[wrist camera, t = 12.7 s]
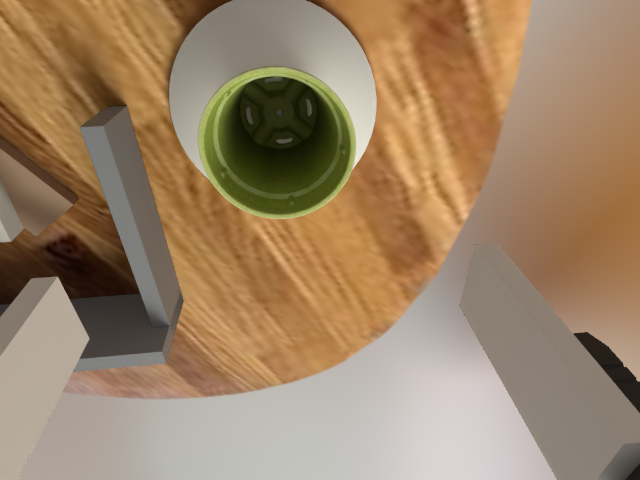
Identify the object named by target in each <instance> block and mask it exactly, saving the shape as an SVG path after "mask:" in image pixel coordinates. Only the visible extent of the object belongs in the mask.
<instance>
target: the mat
mask: <svg viewBox="0 0 640 480" xmlns="http://www.w3.org/2000/svg"><path fill="white" fill-rule="evenodd" d="M266 66H284V67H290V68H295V69H298V70H301V71H304V72H307V73H309V74H311V75H313V76H314V77H316V78H318V79H320V80H321V81H322V82H324V83H325V84H326V85H327V86H329V87H330V88H331V89H332V90H333V91H334V92H335V93H336V94H337V96H338V97H339V98H340V99H341V101H342V102H343V104H344V105H345V107H346V109H347V110H348V112H349V115H350V117H351V119H352V122H353V126H354V130H355V135H356V155H355V161H354V165H353V168H354V167H355V165H356V164H357V163H358V161H359V160H360V158H361V157H362V155H363V153H364V151H365V149H366V147H367V145H368V143H369V140H370V137H371V135H372V131H373V127H374V123H375V116H376V90H375V82H374V78H373V74H372V71H371V67H370V65H369V63H368V60H367V58H366V55H365V53H364V52H363V50H362V48H361V46H360V45H359V43H358V41H357V40H356V39H355V37H354V36H353V35H352V34H351V32H350V31H349V30H348V29H347V28H346V27H345V26H344V25H343V24H342V23H341V22H340V21H339V20H338V19H337V18H335V17H334V16H333V15H331V14H330V13H329V12H327V11H326V10H324V9H323V8H321V7H319V6H317V5H315V4H313V3H311V2H309V1H306V0H232V1H230V2H228V3H225V4H223V5H221V6H219V7H218V8H216V9H215V10H213V11H212V12H210V13H209V14H207V15H206V16H205V17H204V18H203V19H202V20H201V21H200V22H198V23H197V24H196V26H195V27H194V28H193V29H192V30H191V32H190V33H189V34H188V35H187V37H186V39H185V40H184V42H183V44H182V45H181V47H180V49H179V51H178V54H177V56H176V59H175V61H174V65H173V69H172V73H171V77H170V86H169V105H170V111H171V117H172V122H173V125H174V128H175V132H176V134H177V136H178V139H179V141H180V143H181V145H182V147H183V149H184V150H185V152H186V154H187V155H188V157H189V158H190V159H191V161H192V162H193V163H194V165H195V166H196V167H197V168H198V169H199V170H200V171H201V172H202V173H203V174H204V175H205V176H206V177H207V178H208V176H207V174H206V172H205V170H204V167H203V165H202V162H201V159H200V155H199V149H198V129H199V123H200V120H201V117H202V114H203V111H204V109H205V107H206V105H207V104H208V102H209V100H210V99H211V97H212V96H213V95H214V94H215V92H216V91H217V90H218V89H219V88H220V87H221V86H222V85H223V84H225V83H226V82H227V81H229V80H230V79H232V78H233V77H235V76H237V75H239V74H241V73H243V72H245V71H248V70H251V69H255V68H260V67H266ZM282 81H283V79H282V78H281V77H274V78H272V79H266V80H265V83H266V84H268V83H271V82H282ZM306 104H307V115H308V116H311V113H312V107H311V103H310V101H309V99H307V98H306ZM282 114H283V112H282V110H277V111H276V115H278V116H281V115H282ZM246 115H247V120H248V122H249V123H250V124H252V125H253V120H252V117H251V108H250V107H247V109H246ZM292 139H293V138H289V139H278V140H276V141H277V142H278V143H281V144H283V143H288V142H291V141H292ZM353 168H352V169H353ZM208 179H209V178H208Z"/></svg>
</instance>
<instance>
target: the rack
mask: <svg viewBox="0 0 640 480" xmlns="http://www.w3.org/2000/svg"><path fill="white" fill-rule="evenodd" d="M80 130H81V132H82V135H83V138H84V141H85V143H86V146H87V149H88V152H89V154H90V157H91V160H92V162H93V165H94V168H95V171H96V173H97V176H98V179H99V182H100V184H101V187H102V190H103V193H104V195H105V198H106V201H107V203H108V206H109V209H110V212H111V214H112V217H113V220H114V223H115V225H116V228H117V231H118V233H119V236H120V239H121V242H122V244H123V247H124V250H125V253H126V255H127V258H128V261H129V263H130V266H131V269H132V272H133V274H134V277H135V280H136V283H137V285H138V288H139V291H140V294H128V295H115V296H103V297H90V298H78V299H69V300H70V301H71V303H72V305H73V307H74V309H75V311H76V313H77V315H78V317H79V319H80V321H81V323H82V325H83V327H84V329H85V331H86V333H87V335H88V337H89V341H88V343H87V345H86V347H85V348H84V350H83V352H82V354H81V356H80V358H79V360H78V362H77V364H76V366H75V368H74V370H73V372H76V371H87V370H98V369H108V368H119V367H130V366H141V365H152V364H163V363H166V362H167V358H168V355H169V351H170V348H171V344H172V340H173V337H174V333H175V330H176V326H177V323H178V319H179V316H180V312H181V309H182V305H183V302H184V301H183V297H182V294H181V291H180V287H179V284H178V280H177V277H176V273H175V270H174V266H173V263H172V259H171V256H170V253H169V249H168V246H167V242H166V239H165V235H164V232H163V228H162V225H161V222H160V218H159V215H158V211H157V208H156V204H155V201H154V197H153V194H152V190H151V187H150V184H149V180H148V177H147V173H146V170H145V166H144V163H143V159H142V156H141V153H140V149H139V146H138V142H137V139H136V135H135V132H134V128H133V125H132V121H131V118H130V115H129V111H128V108H127V106H115V107H106V108H105V109H103V110H102V111H101V112H99V113H98V114H97V115H95V116H94V117H93V118H91V119H90V120H89V121H87V122H86V123H85V124H83V125H82V126H81V127H80ZM10 305H11V304H3V305H0V317H1V316H2V315H3V313H4V312H5V311H6V310H7V308H8V307H9V306H10Z"/></svg>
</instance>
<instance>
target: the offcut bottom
mask: <svg viewBox="0 0 640 480" xmlns="http://www.w3.org/2000/svg"><path fill="white" fill-rule="evenodd" d="M0 178H1V180H2V182H3V185H4V187H5V189H6V191H7V193H8V195H9V198H10V200H11V202H12V204H13V206H14V208H15V211H16V213H17V215H18V217H19V219H20V221H21V224H22V226H23V228H24V229H26V230H27V231H29V232H30V233H32V234H33V235H35V236H38V235H39V234H40V233H41V232H42V231H43V230H45V229H46V228H47V227H48V226H49V225H50V224H52V223H53V222H54V221H55V220H56V219H57V218H59V217H60V216H61V215H62V214H63V213H64V212H66V211H67V210H68V209H69V208H70V207H71V206H73V205H74V203H75V202H76V201H77V200H78V199H79V198H78V197H77V196H75V195H74V194H73V193H71V192H70V191H69V190H68V189H66V188H65V187H64V186H63V185H61V184H60V183H59V182H57V181H56V180H55V179H54V178H52V177H51V176H50V175H49V174H47V173H46V172H45V171H43V170H42V169H41V168H40V167H38V166H37V165H36V164H35V163H33V162H32V161H31V160H29V159H28V158H27V157H26V156H24V155H23V154H22V153H21V152H19V151H18V150H17V149H15V148H14V147H13V146H12V145H10V144H9V143H8V142H7V141H5V140H4V139H3V138H1V137H0Z"/></svg>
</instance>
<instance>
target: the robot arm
mask: <svg viewBox="0 0 640 480" xmlns="http://www.w3.org/2000/svg"><path fill="white" fill-rule="evenodd" d="M460 308H461V310H462V312H463V313H464V315H465V317H466V318H467V320H468V322H469V324H470V326H471V327H472V329H473V331H474V333H475V335H476V336H477V338H478V340H479V342H480V343H481V345H482V347H483V349H484V351H485V352H486V354H487V356H488V358H489V359H490V361H491V363H492V365H493V367H494V368H495V370H496V372H497V374H498V375H499V377H500V379H501V381H502V382H503V384H504V386H505V388H506V389H507V391H508V393H509V395H510V397H511V398H512V400H513V402H514V404H515V406H516V407H517V409H518V411H519V413H520V414H521V416H522V418H523V419H524V421H525V423H526V425H527V427H528V428H529V430H530V432H531V434H532V436H533V437H534V439H535V441H536V443H537V445H538V446H539V448H540V450H541V452H542V453H543V455H544V457H545V459H546V460H547V462H548V464H549V466H550V468H551V469H552V471H553V473H554V475H555V476H556V478H557V480H640V382H637V380H636V377H635V376H634V375H633V374H632V373H631V372H630V370H629V369H628V368H627V367H624V366H623V363H622V362H621V361H620V359H619V358H618V357H617V356H616V355H615V354H614V353H613V352H612V351H611V349H610V348H609V347H608V346H606V345H605V344H604V343H602V342H601V341H599V340H598V339H596V338H595V337H593V336H592V335H590V334H589V333H588V332H584V333H572V332H571V331H570V330H569V328H568V327H567V326H566V325H565V324H564V323H563V321H562V320H561V319H560V317H559V316H558V315H557V314H556V313H555V312H554V310H553V309H552V308H551V307H550V306H549V304H548V303H547V302H546V301H545V300H544V298H543V297H542V296H541V295H540V294H539V292H538V291H537V290H536V289H535V288H534V287H533V285H532V284H531V283H530V282H529V281H528V279H527V278H526V277H525V276H524V275H523V273H522V272H521V271H520V270H519V269H518V267H517V266H516V265H515V264H514V263H513V261H512V260H511V259H510V258H509V257H508V256H507V254H506V253H505V252H504V251H503V249H502V248H501V247H500V246H499V245H498V244H497V243H488V244H474V248H473V252H472V256H471V260H470V265H469V269H468V273H467V277H466V281H465V286H464V289H463V294H462V298H461V302H460ZM88 341H89V337H88V335H87V333H86V331H85V329H84V327H83V325H82V323H81V321H80V319H79V317H78V315H77V313H76V311H75V309H74V307H73V305H72V303H71V301H70V300H69V298H68V296H67V294H66V292H65V290H64V288H63V286H62V284H61V282H60V280H59V278H58V276H57V277H44V278H31V280H30V281H29V282H28V283H27V285H26V286H25V287H24V288H23V290H22V291H21V292H20V293H19V295H18V296H17V297H16V298H15V300H14V301H13V302H12V303H11V305H10V306H9V307H8V308H7V310H6V311H5V312H4V313H3V315H2V316H1V317H0V480H18V479H19V477H20V474H21V473H22V471H23V469H24V467H25V464H26V463H27V461H28V459H29V456H30V455H31V453H32V451H33V449H34V447H35V445H36V443H37V441H38V439H39V437H40V435H41V433H42V431H43V429H44V427H45V425H46V423H47V421H48V419H49V417H50V416H51V414H52V412H53V410H54V408H55V406H56V404H57V402H58V400H59V398H60V396H61V394H62V392H63V390H64V388H65V386H66V384H67V382H68V380H69V378H70V376H71V374H72V372H73V370H74V368H75V366H76V364H77V362H78V360H79V358H80V356H81V354H82V352H83V350H84V348H85V347H86V345H87V343H88Z"/></svg>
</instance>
